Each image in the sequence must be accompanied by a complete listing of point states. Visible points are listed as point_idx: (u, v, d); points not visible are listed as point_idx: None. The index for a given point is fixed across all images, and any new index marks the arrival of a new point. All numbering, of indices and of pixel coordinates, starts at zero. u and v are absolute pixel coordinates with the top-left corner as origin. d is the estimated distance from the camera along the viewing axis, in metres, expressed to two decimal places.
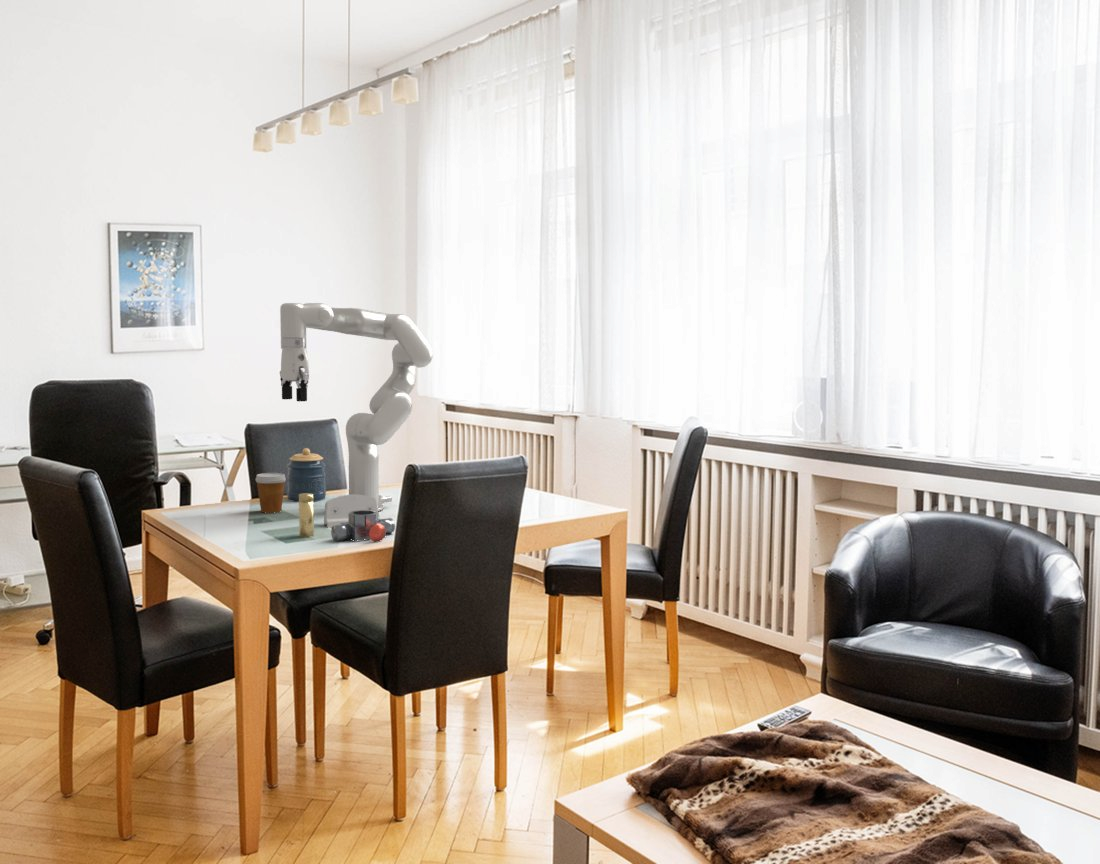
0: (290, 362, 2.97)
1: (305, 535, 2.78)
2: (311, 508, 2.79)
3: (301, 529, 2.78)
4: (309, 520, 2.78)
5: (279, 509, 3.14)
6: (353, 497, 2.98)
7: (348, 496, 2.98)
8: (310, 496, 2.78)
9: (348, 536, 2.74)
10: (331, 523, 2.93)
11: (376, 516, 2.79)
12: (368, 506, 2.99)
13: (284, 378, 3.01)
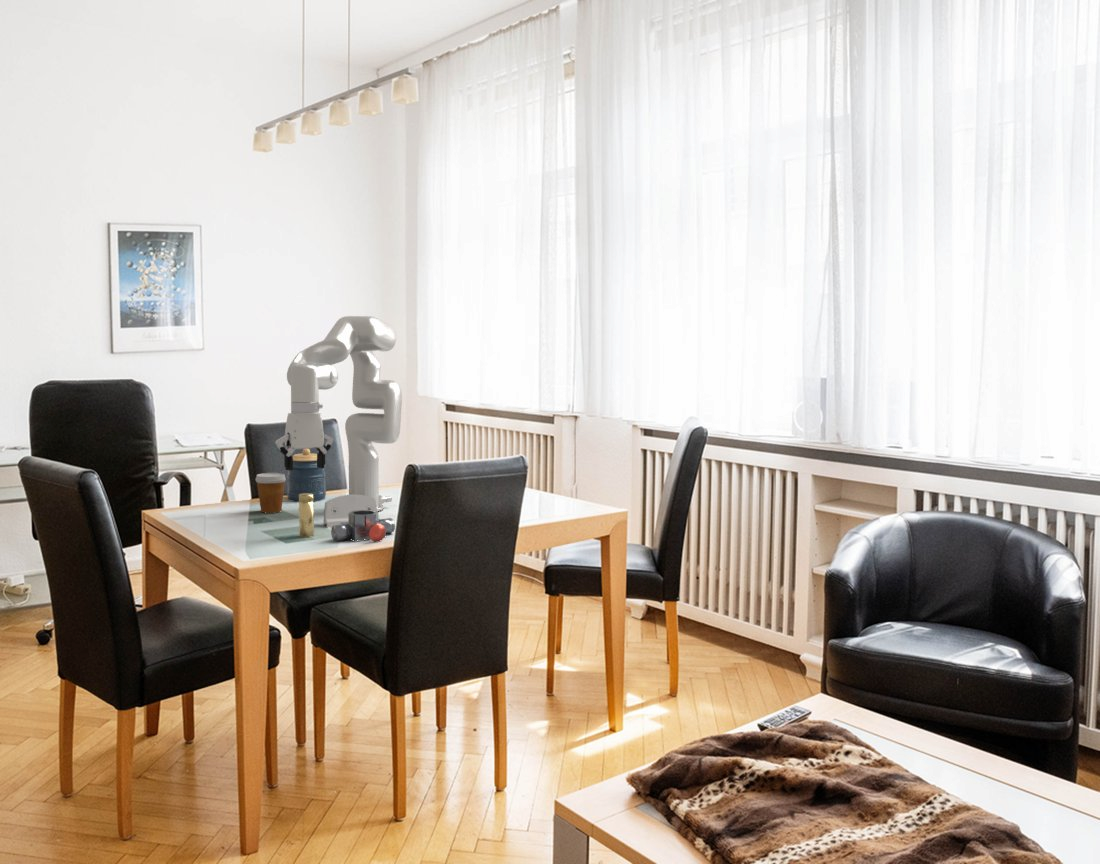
0: (317, 428, 2.77)
1: (305, 535, 2.78)
2: (311, 508, 2.79)
3: (301, 529, 2.78)
4: (309, 520, 2.78)
5: (279, 509, 3.14)
6: (352, 497, 2.98)
7: (347, 496, 2.98)
8: (310, 496, 2.78)
9: (348, 536, 2.74)
10: (331, 523, 2.93)
11: (376, 516, 2.79)
12: (367, 506, 2.99)
13: (300, 446, 2.74)
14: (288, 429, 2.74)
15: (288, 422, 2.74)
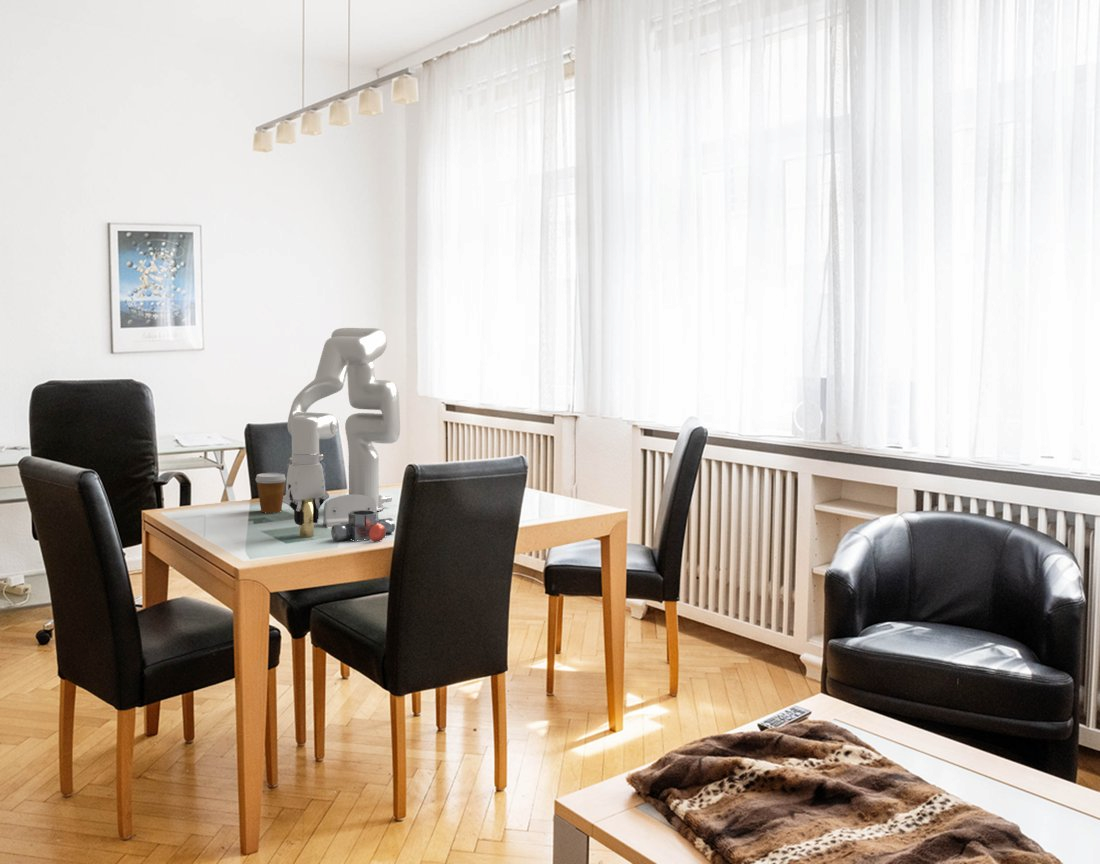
0: (318, 478, 2.79)
1: (305, 535, 2.78)
2: (311, 508, 2.79)
3: (301, 529, 2.78)
4: (309, 520, 2.78)
5: (279, 509, 3.14)
6: (352, 497, 2.98)
7: (347, 496, 2.98)
8: None
9: (348, 536, 2.74)
10: (331, 523, 2.93)
11: (376, 516, 2.79)
12: (367, 506, 2.99)
13: (302, 498, 2.76)
14: (289, 481, 2.75)
15: (289, 474, 2.76)
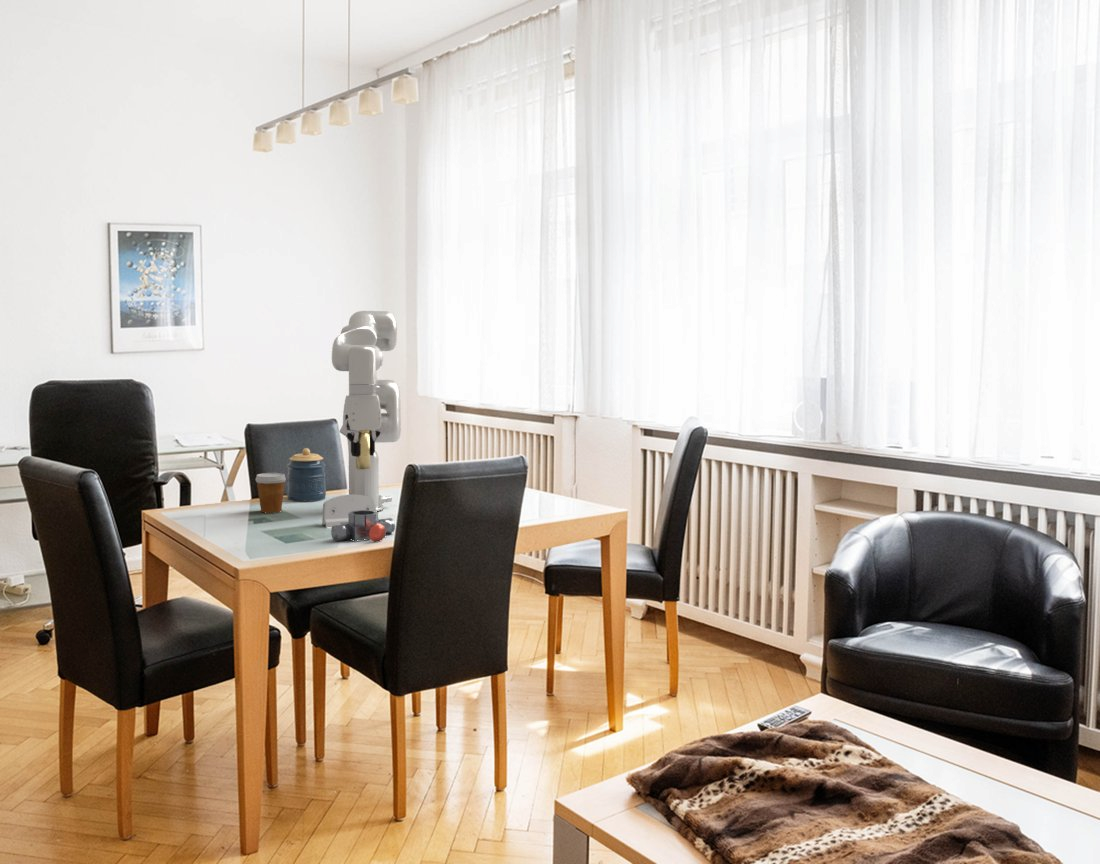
0: (374, 410, 2.76)
1: (362, 467, 2.76)
2: (368, 440, 2.76)
3: (358, 461, 2.76)
4: (366, 451, 2.76)
5: (279, 509, 3.14)
6: (351, 497, 2.98)
7: (346, 496, 2.98)
8: None
9: (348, 536, 2.74)
10: (330, 523, 2.93)
11: (376, 516, 2.79)
12: (366, 506, 2.99)
13: (359, 429, 2.73)
14: (347, 411, 2.73)
15: (346, 404, 2.73)
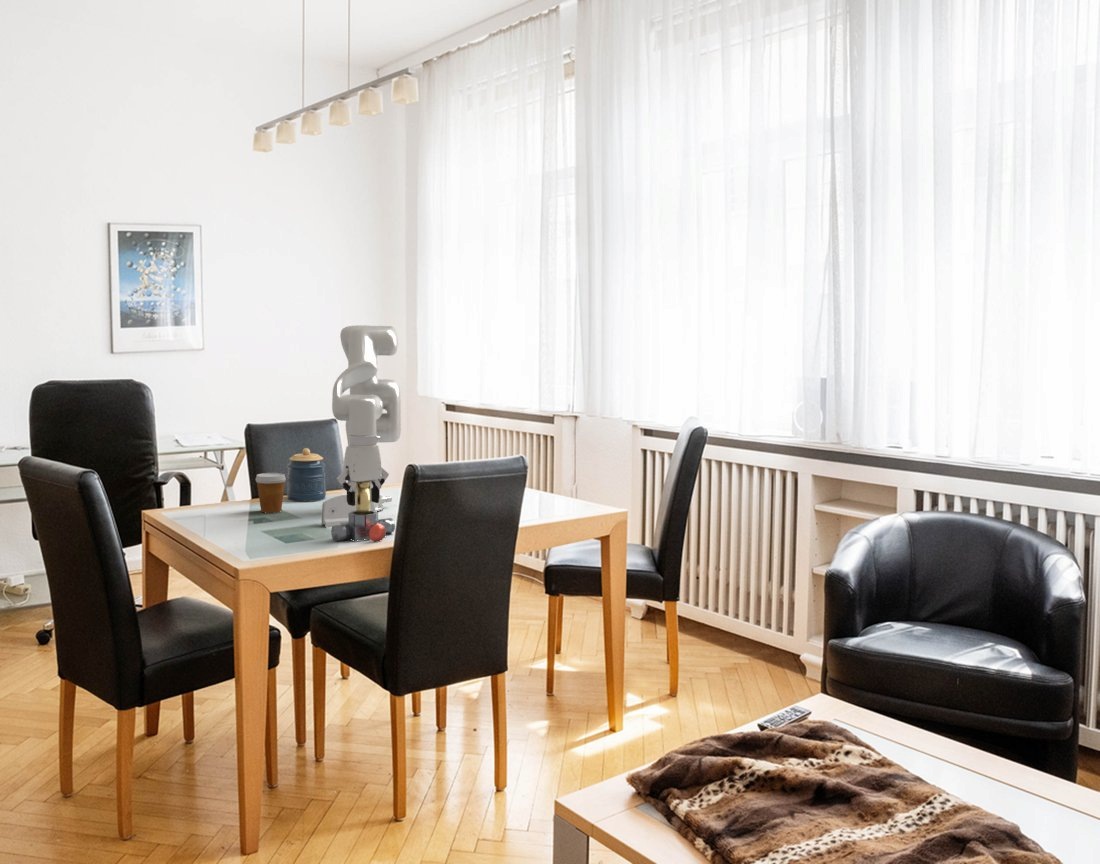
0: (375, 460, 2.77)
1: None
2: (368, 495, 2.78)
3: None
4: (366, 507, 2.78)
5: (279, 509, 3.14)
6: None
7: (345, 496, 2.98)
8: (367, 483, 2.77)
9: (348, 536, 2.74)
10: (329, 523, 2.92)
11: (376, 516, 2.79)
12: None
13: (359, 479, 2.75)
14: (347, 462, 2.74)
15: (347, 455, 2.74)
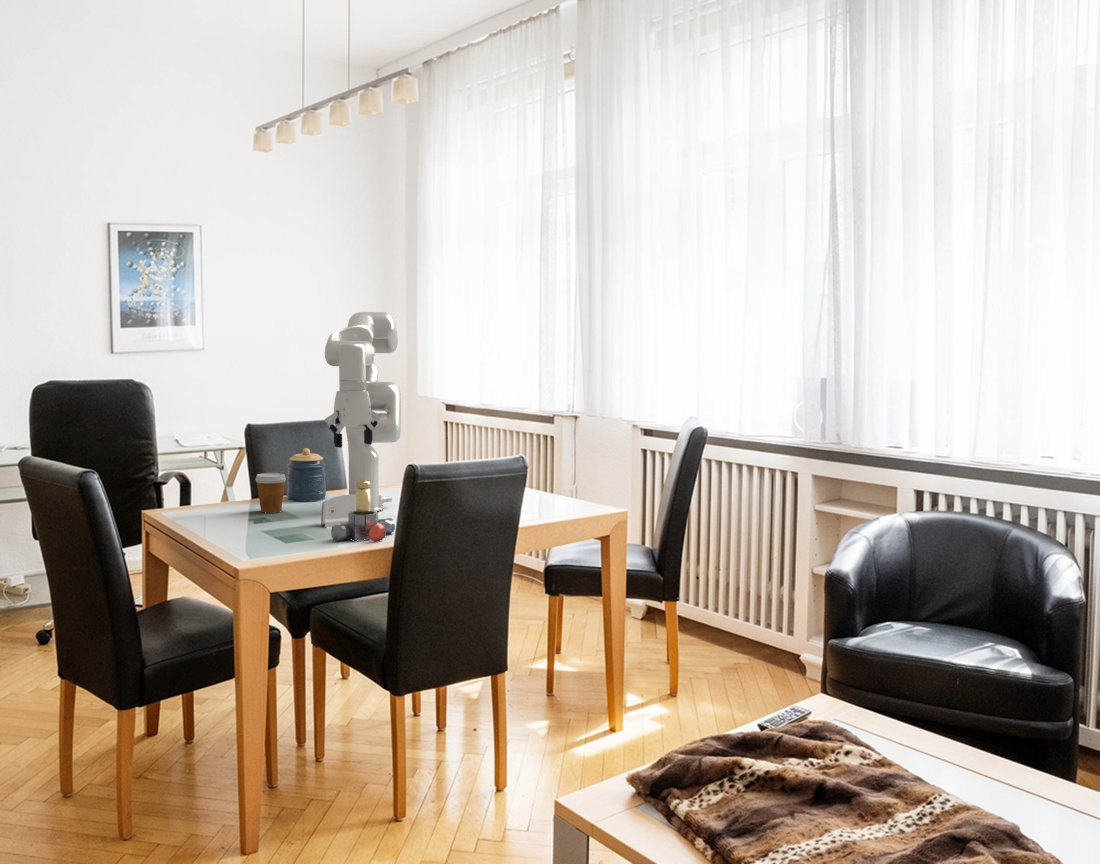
0: (364, 405, 2.82)
1: None
2: (368, 495, 2.78)
3: None
4: (366, 507, 2.77)
5: (279, 509, 3.14)
6: (350, 497, 2.98)
7: (345, 496, 2.98)
8: (367, 483, 2.77)
9: (348, 536, 2.74)
10: (329, 523, 2.92)
11: (376, 516, 2.79)
12: None
13: (349, 424, 2.80)
14: (337, 407, 2.79)
15: (337, 400, 2.79)
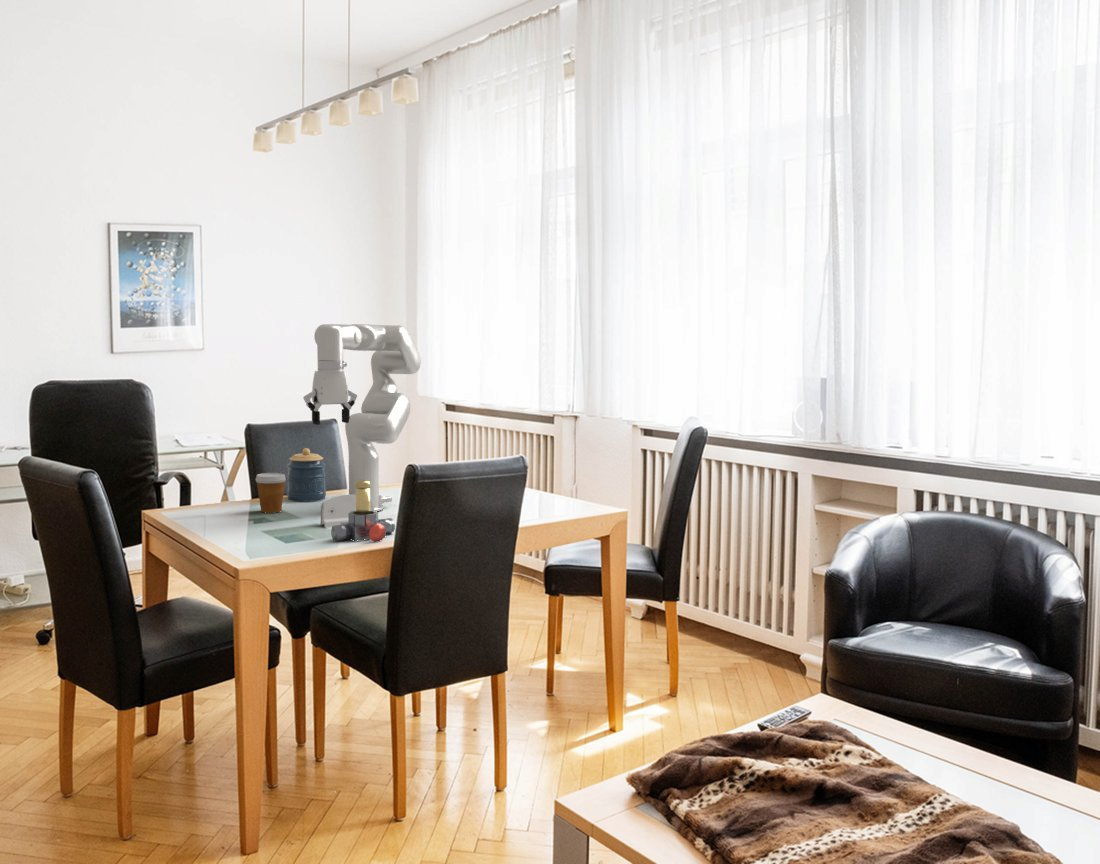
0: (342, 384, 2.95)
1: None
2: (368, 495, 2.78)
3: None
4: (366, 507, 2.77)
5: (279, 509, 3.14)
6: (349, 497, 2.98)
7: (344, 496, 2.98)
8: (367, 483, 2.77)
9: (348, 536, 2.74)
10: (328, 523, 2.92)
11: (376, 516, 2.79)
12: None
13: (327, 402, 2.93)
14: (315, 386, 2.92)
15: (315, 379, 2.92)
